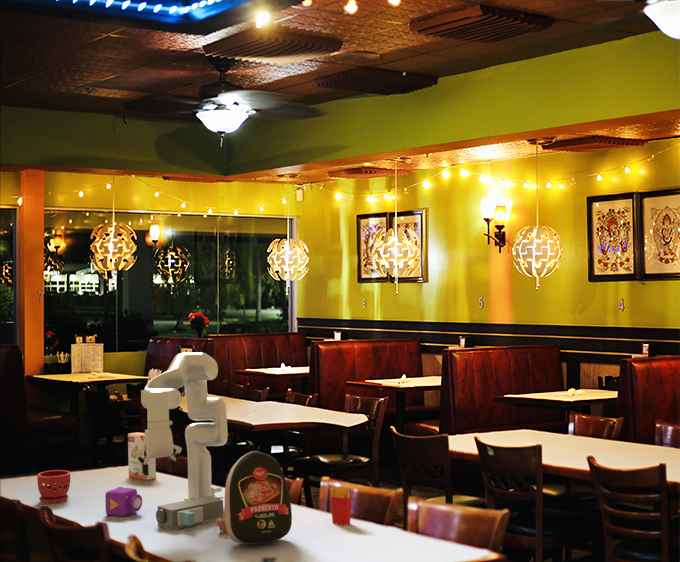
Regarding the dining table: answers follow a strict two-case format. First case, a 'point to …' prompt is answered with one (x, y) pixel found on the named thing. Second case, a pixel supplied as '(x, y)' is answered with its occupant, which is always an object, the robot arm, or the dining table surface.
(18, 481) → the dining table surface
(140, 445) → the cracker box
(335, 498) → the french fries
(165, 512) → the camera housing
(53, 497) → the plant pot
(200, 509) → the side door
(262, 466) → the packaged food
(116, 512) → the toy camera
